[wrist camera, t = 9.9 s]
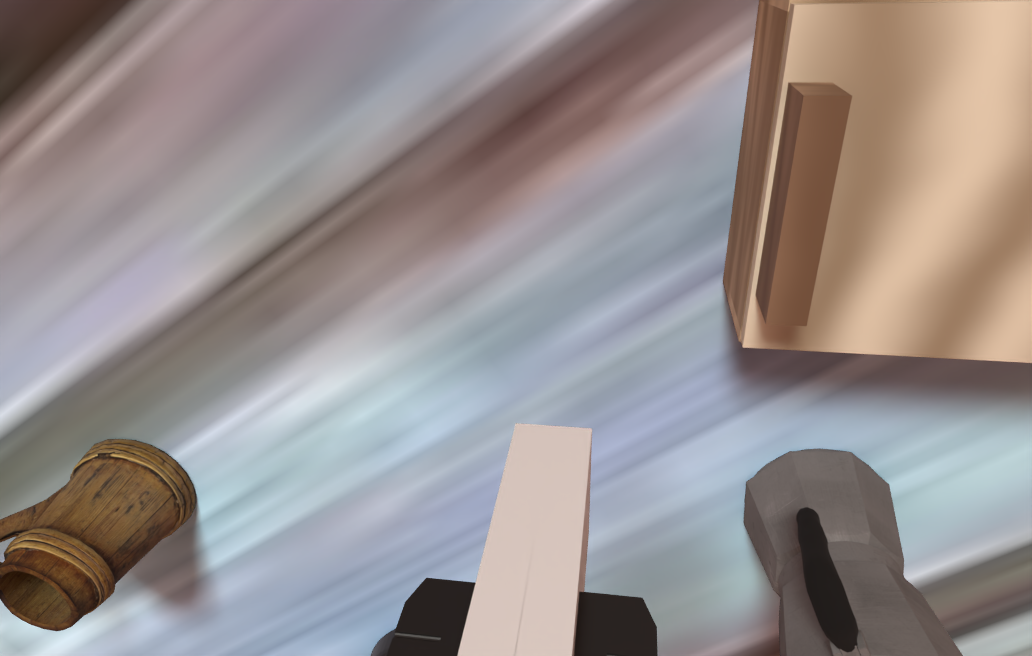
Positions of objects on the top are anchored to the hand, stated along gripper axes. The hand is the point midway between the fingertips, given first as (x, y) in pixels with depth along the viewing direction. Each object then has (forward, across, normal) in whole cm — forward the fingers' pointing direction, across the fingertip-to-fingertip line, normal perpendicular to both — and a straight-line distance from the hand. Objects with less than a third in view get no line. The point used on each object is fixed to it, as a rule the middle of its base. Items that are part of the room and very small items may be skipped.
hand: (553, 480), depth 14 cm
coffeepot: (+27, +14, -22) cm, 37 cm away
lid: (+19, +17, 0) cm, 25 cm away
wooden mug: (+27, -37, -25) cm, 52 cm away
